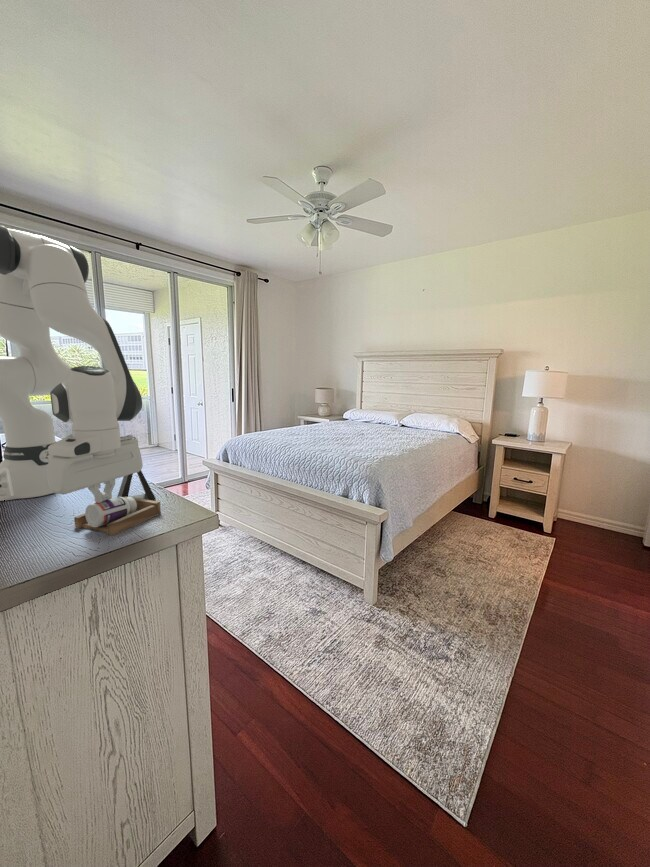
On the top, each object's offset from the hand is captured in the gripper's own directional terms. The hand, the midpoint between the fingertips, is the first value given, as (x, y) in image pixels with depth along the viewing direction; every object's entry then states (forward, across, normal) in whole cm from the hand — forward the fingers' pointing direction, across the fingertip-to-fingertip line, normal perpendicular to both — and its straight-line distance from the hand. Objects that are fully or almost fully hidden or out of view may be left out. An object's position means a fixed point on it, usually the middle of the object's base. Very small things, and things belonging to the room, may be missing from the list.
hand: (103, 500), depth 81 cm
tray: (+6, -4, 0) cm, 7 cm away
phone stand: (+6, -16, -8) cm, 19 cm away
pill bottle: (+2, +3, 0) cm, 4 cm away
